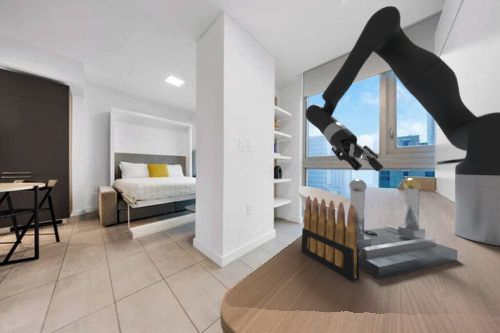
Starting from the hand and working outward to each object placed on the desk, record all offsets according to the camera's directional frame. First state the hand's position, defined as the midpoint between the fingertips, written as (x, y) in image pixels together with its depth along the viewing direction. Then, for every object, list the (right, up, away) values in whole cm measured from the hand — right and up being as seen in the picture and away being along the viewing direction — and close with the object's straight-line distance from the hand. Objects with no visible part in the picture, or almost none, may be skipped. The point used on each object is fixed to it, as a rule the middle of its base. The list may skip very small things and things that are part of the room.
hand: (370, 168), depth 49 cm
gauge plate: (-6, -18, -13) cm, 23 cm away
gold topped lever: (+2, -16, -8) cm, 18 cm away
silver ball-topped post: (-14, -16, -13) cm, 25 cm away
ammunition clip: (-21, -18, -18) cm, 33 cm away
